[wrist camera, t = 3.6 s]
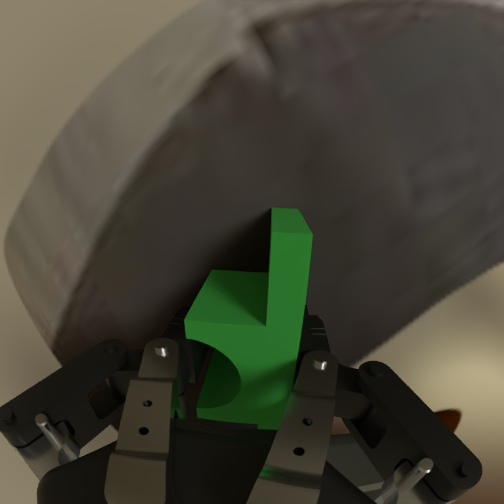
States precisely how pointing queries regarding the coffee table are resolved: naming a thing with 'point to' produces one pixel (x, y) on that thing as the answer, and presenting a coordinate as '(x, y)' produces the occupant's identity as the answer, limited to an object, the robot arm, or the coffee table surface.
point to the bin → (355, 465)
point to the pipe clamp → (254, 329)
